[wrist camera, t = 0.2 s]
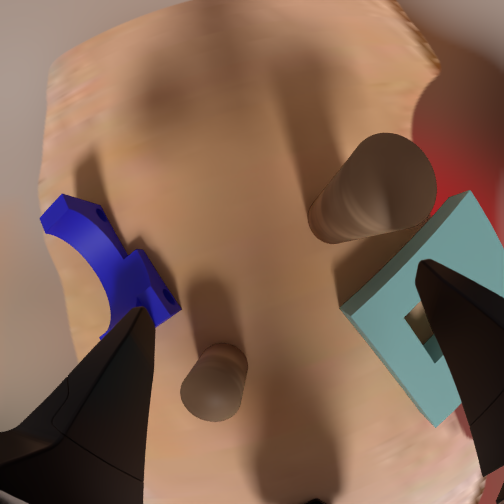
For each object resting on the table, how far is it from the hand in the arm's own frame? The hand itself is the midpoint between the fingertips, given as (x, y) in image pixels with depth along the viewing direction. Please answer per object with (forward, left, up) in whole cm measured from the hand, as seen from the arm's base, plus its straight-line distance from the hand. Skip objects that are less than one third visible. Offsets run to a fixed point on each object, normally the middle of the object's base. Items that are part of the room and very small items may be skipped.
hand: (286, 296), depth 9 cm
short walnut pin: (-3, +8, -14) cm, 17 cm away
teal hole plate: (-13, -9, -14) cm, 21 cm away
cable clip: (+9, +9, -15) cm, 20 cm away
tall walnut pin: (0, -6, -14) cm, 16 cm away
